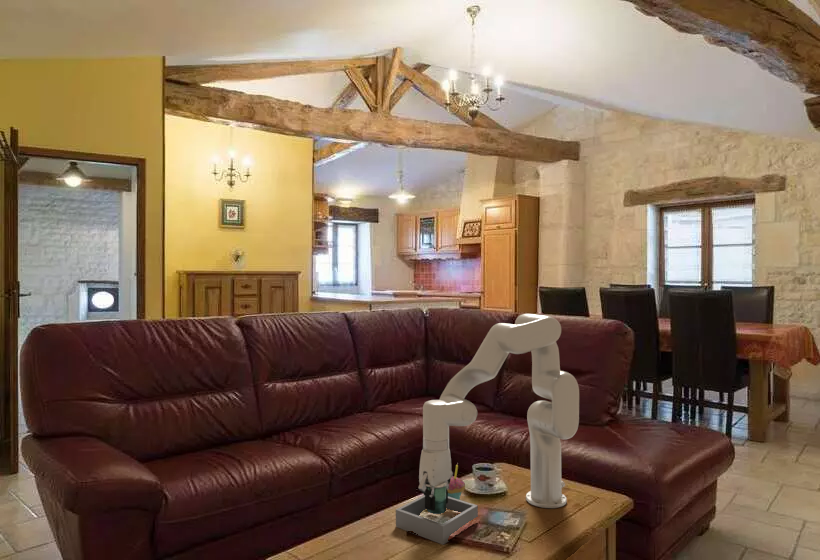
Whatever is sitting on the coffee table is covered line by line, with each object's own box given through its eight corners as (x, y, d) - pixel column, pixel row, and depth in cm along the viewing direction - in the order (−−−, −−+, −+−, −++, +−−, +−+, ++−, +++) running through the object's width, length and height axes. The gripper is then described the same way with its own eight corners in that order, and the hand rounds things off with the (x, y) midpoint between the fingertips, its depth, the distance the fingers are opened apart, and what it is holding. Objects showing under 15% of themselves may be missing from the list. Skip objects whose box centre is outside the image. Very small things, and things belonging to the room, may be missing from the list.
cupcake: (465, 494, 185) (464, 458, 185) (465, 505, 176) (464, 467, 176) (439, 494, 186) (438, 458, 186) (437, 504, 177) (437, 467, 177)
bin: (431, 507, 176) (431, 491, 175) (477, 522, 165) (477, 505, 165) (395, 526, 163) (395, 509, 162) (443, 544, 152) (442, 526, 152)
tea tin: (434, 503, 168) (434, 477, 167) (450, 509, 164) (450, 481, 164) (422, 510, 163) (422, 482, 163) (438, 515, 159) (438, 487, 159)
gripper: (443, 434, 172) (443, 493, 172) (407, 448, 159) (407, 512, 159) (463, 439, 167) (464, 499, 168) (427, 454, 154) (428, 519, 154)
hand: (436, 505), depth 163 cm, fingers closed on tea tin, 5 cm apart
